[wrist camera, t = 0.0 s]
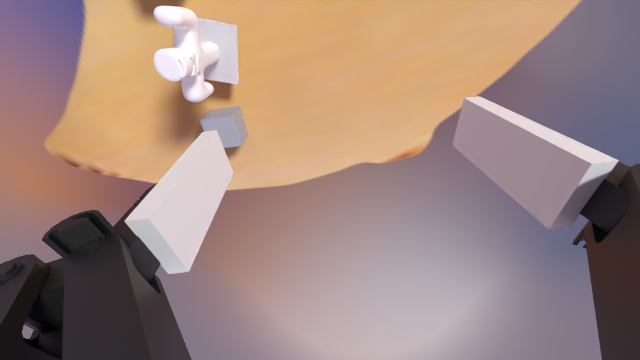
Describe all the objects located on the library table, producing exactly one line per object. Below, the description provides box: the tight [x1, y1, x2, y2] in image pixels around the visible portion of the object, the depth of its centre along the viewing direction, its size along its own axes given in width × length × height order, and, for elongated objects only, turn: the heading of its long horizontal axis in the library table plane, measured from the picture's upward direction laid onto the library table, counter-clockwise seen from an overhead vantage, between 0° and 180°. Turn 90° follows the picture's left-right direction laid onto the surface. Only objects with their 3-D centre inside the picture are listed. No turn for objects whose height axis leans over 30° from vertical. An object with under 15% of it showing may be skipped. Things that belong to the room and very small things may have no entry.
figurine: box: [154, 6, 238, 102], centre depth 28 cm, size 7×9×15 cm
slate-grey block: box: [199, 106, 248, 148], centre depth 39 cm, size 5×5×5 cm
